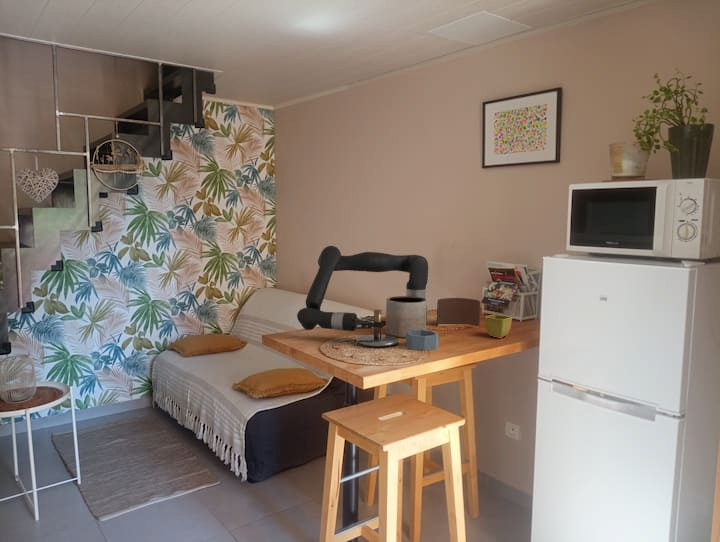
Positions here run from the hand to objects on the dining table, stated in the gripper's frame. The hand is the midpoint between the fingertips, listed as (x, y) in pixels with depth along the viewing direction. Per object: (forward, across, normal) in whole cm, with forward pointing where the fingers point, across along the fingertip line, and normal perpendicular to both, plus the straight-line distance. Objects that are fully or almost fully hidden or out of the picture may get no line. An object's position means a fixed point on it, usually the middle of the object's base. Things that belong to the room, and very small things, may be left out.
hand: (384, 324), depth 221 cm
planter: (+4, +20, +9) cm, 23 cm away
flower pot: (+44, +28, +9) cm, 53 cm away
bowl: (+16, +1, +8) cm, 18 cm away
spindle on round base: (-3, 0, +7) cm, 8 cm away
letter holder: (+24, +47, +9) cm, 54 cm away
